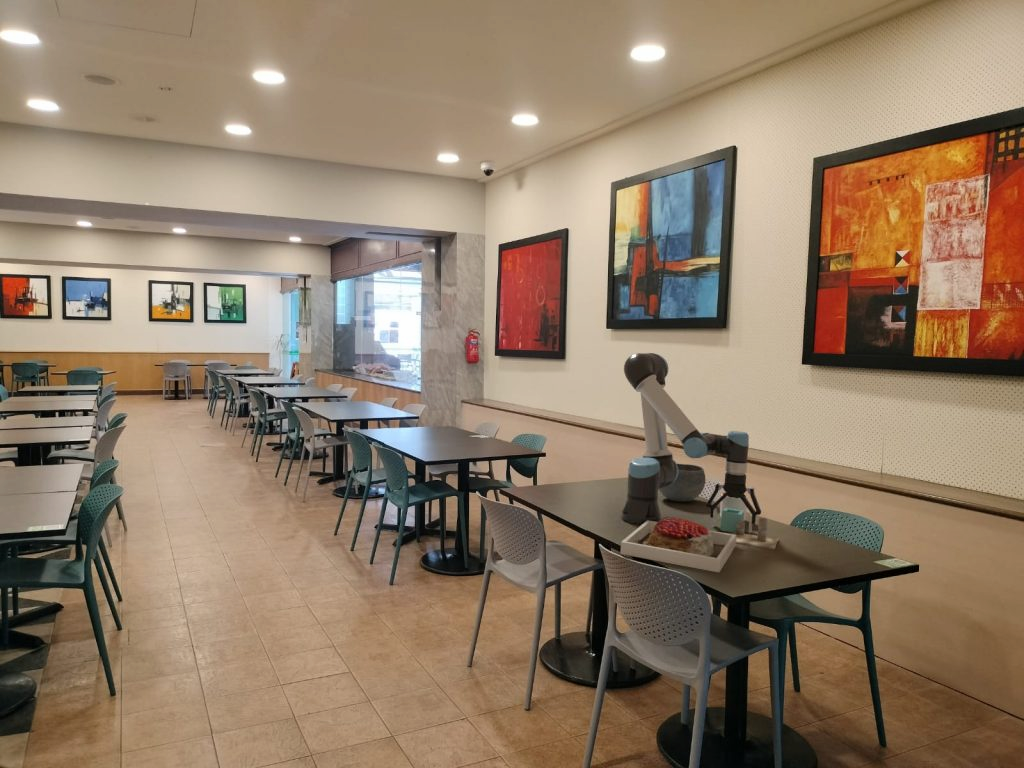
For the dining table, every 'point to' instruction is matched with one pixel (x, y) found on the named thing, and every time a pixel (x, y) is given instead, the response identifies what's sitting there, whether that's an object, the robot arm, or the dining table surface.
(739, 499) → the cup
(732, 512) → the mint green cube
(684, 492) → the bowl
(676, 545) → the cake
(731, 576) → the dining table surface
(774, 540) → the cream base with posts
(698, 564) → the cake tray
